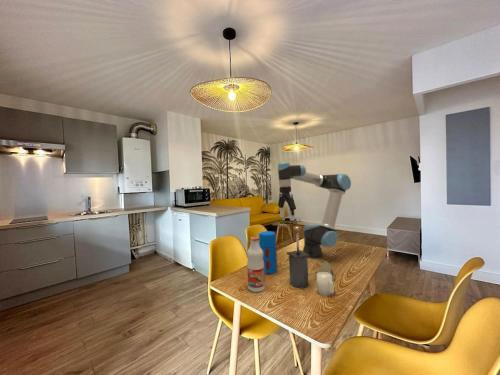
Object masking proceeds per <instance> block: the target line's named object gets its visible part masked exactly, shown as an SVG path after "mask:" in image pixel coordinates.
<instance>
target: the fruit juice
mask: <svg viewBox="0 0 500 375" xmlns="http://www.w3.org/2000/svg"><path fill="white" fill-rule="evenodd" d="M249 238H250V239H249V241H250V245H249V247H248V250H247V251H246V257H247V261H246V266H247V270H246V271H247V288H248V290H249V291H250V292H254V293H260V292H263V291H264V290H265V288H266V280H265V279H266V276H265V275H266V274H265V273H264V261H263V250H262V249H261V248H260V245H259V236H251V237H249Z"/></svg>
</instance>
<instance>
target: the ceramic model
mask: <svg viewBox="0 0 500 375" xmlns="http://www.w3.org/2000/svg"><path fill="white" fill-rule="evenodd" d="M318 272H328V273H330V274H332V282H333V283H334V282H335V280H336V279H335V278H336V276H335V271H334V270H333V267H332V265H331V264H330V262H329V261H327V260H323V261H322V263H321V265H320V266H319V267H318V268H317V269H316V270H315V275H314V277H313V278H314V280H315V281H317V273H318Z"/></svg>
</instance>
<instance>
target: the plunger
mask: <svg viewBox="0 0 500 375" xmlns="http://www.w3.org/2000/svg"><path fill="white" fill-rule="evenodd" d="M293 232H295V234H296V236H295V237H296V251H297V255H298V254H299V250H300V238H299V236H300V232H302V227H301V226H299V225H294V226H293Z"/></svg>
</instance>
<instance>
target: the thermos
mask: <svg viewBox="0 0 500 375" xmlns="http://www.w3.org/2000/svg"><path fill="white" fill-rule="evenodd" d="M258 237H259V245H260V248H261V249H262V250H263V261H264V273H265V275H267V276H269V275H270V276H272V275H274V274H276V273H277V272H278V260H277V259H278V258H277V257H278V256H277V254H278V253H277V234H276V232H275V231H272V230H271V231H269V230H265V231H260V232H259V233H258Z"/></svg>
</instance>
